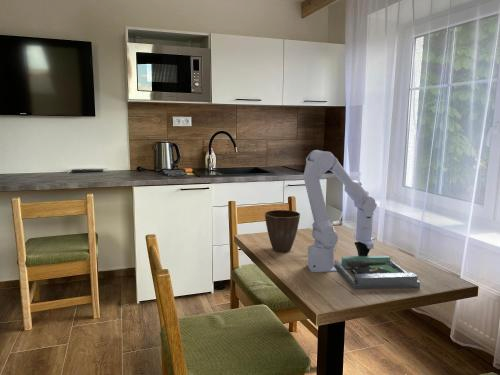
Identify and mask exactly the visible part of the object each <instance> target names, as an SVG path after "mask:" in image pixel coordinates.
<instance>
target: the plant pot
mask: <svg viewBox="0 0 500 375" xmlns="http://www.w3.org/2000/svg"><path fill="white" fill-rule="evenodd" d="M264 217H265V224H266V225H265V226H266V231H267V234H268V238H269V242H270V244H271V247H272V250H273V251H274V252H277V253H289V252H291V250H292V248H293V246H294V243H295V239H296V236H297V233H298V228H299V224H300V220H301V219H300V217H301V213H300V212H298V211H294V210H287V209H286V210H285V209H274V210H268V211H265V212H264Z"/></svg>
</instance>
